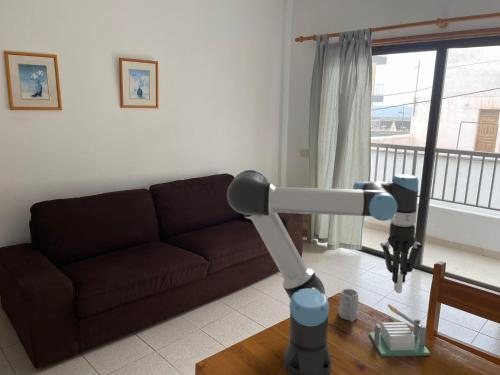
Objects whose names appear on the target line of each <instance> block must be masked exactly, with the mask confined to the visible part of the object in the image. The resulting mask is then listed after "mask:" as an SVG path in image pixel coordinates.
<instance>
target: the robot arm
mask: <svg viewBox="0 0 500 375" xmlns="http://www.w3.org/2000/svg"><path fill="white" fill-rule="evenodd" d="M392 177H393V178H392V180H391V181H366V180H365V181H355V182H354V183H353V187H352V188H351V189H350V188H326V187H325V188H320V187H292V186H290V187H289V186H275V185H274V184H272V183H271V182H269V181H268V179H267V177H266V176H265V175H264V173H262V172H261V171H259V170H257V169H246V170H243V171H241V172H240V173H238V174H237V175H236V176H235V177H234V179H233V180H232V181H231V182H230V184H229V186H228V187H227V191H226V197H227V198H226V200H227V202H228V204H229V206H230V207H231V208H232V209H233V210H234V211H235V212H237V213H238V214H242V215H243V216H244V218H245V219H249V220H251V221H252V223H253V225H254V227H255V229H256V230H257V232H258V234H259V236H260V238H261V240H262V241H263V243H264V245H265V247H266V249H267V250H268V253H269V254H270V256H271V258H272V259H273V262H274V263H275V265H276V267H277V269H278V270H279V272H280V274H281V275H282V279H283V281H282V287H283V288H284V290H285V292H286V294H287V296H288V298H289V300H290V301H289V318H290V319H289V342H288V344H287V345H286V346H287V347H286V349H285V352H284V355H283V366H284V369H285V371H286V372H288V373H289V374H290V375H330V374H331V372H332V369H333V368H332V366H333V359H332V356H331V353H330V348H329V345H328V332H329V331H328V325H329V312H330V306H329V304H330V303H329V300H328V297H327V296H326V291H325V286H324V283H323V282H322V280H321V279H320V277H318V276H317V275H316V273H315V272H314V270H313V268H311V267H308V266H306V264H305V263H304V262H305V261H304V260H303V258H302V256H301V255H300V253H299V251H298V250H297V247H296V245H295V244H294V242H293V240H292V238H291V237H290V234H289V233H288V231H287V228H286V227H285V226H284V223H283V222H282V219H281V218H280V215H279V214H278V213H281V214H303V215H304V214H309V215H329V216H330V215H332V216H335V215H336V216H353V217H357V216H358V217H372V218H373V219H376V220H378V221H382V222H383V221H390V224H389V236H388V238H387V241H386V242H382V243H380V247H381V248H382V250H383V257H384V261H385V265H386V270H387V271H388V272H389V273H391V274H392V277H391V280H392V282H393V284H394V285H393V286H394V287H393V290H394V291H395V292H396V293H397V294H402V292H403V284H404V283H405V282H406V276H407V275H408V273H412V272H413V268H414V265H415V263H416V260H417V257H418V254H419V251H420V250H421V249H422V247H423V244H421V243H420V242H418V241H416V239H415V235H416V234H415V231H416V225H415V224H416V221H417V206H418V205H417V204H418V197H419V196H418V195H419V178H418V177H417V176H415V175H413V174H395V175H393V176H392ZM390 248H391V249H392V252H393V253H392V258H391V253H390ZM409 250H410V251H409Z"/></svg>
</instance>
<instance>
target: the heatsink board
mask: <svg viewBox="0 0 500 375" xmlns="http://www.w3.org/2000/svg"><path fill="white" fill-rule="evenodd" d="M413 321H415V322H416V323H420V324H421V319H420V318H414V320H413ZM426 332H427V326H426V325H425V326H424V325H422V326H420V330H419V329H418V328H417V327H416V326H415V325H413V330H411V328H410V327H409V326H408V325H407V324H406V322H405V321H404V322H403V321H402V322H400V321H398V322H397V321H395V322H394V321H393V322H381V325H380V323H375V324H374V331H370V332H368V333H369V337H370V338H371V340H372V342H373V344H374V345H375V347H376V349H377V351H378V353H379V354H380V356H381V357H409V356H410V357H411V356H414V357H415V356H417V357H418V356H430V354H431V352H430V351H429V349H428V348H427V347H426V346H425V345H426V344H425V343H426V334H427V333H426Z"/></svg>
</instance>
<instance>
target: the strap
mask: <svg viewBox="0 0 500 375" xmlns="http://www.w3.org/2000/svg"><path fill="white" fill-rule="evenodd" d="M387 307H388V309H390V311H391V312H393V313H394V314H396V315H398V316H400V317H401V318H403V319H404V320H406V321H407V322H409V323H410V324H412V325H413V326H414V325H415V326H416V327H417V328H418V329H419V331H420V326H423V325H422V324H421V322H420V323H416V322H415V321H414V320H413V319H412V318H410V317H408V316H407V315H406V314H404V313H402V312H401V311H399V310H398V309H397V308H395V307H394V306H393V305H391V304H390V303H389V304H387Z"/></svg>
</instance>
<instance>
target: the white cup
mask: <svg viewBox="0 0 500 375" xmlns="http://www.w3.org/2000/svg"><path fill="white" fill-rule="evenodd" d="M359 303H360V302H359V293H358V291H357V290H356V289H352V288H343V289H341V292H340V297H339V308H338V315H339V317H340V318H341V319H343V320H346V321H350V322H351V323H355V320H357V319H358V317H359V315H360V314H359V305H358V304H359Z"/></svg>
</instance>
